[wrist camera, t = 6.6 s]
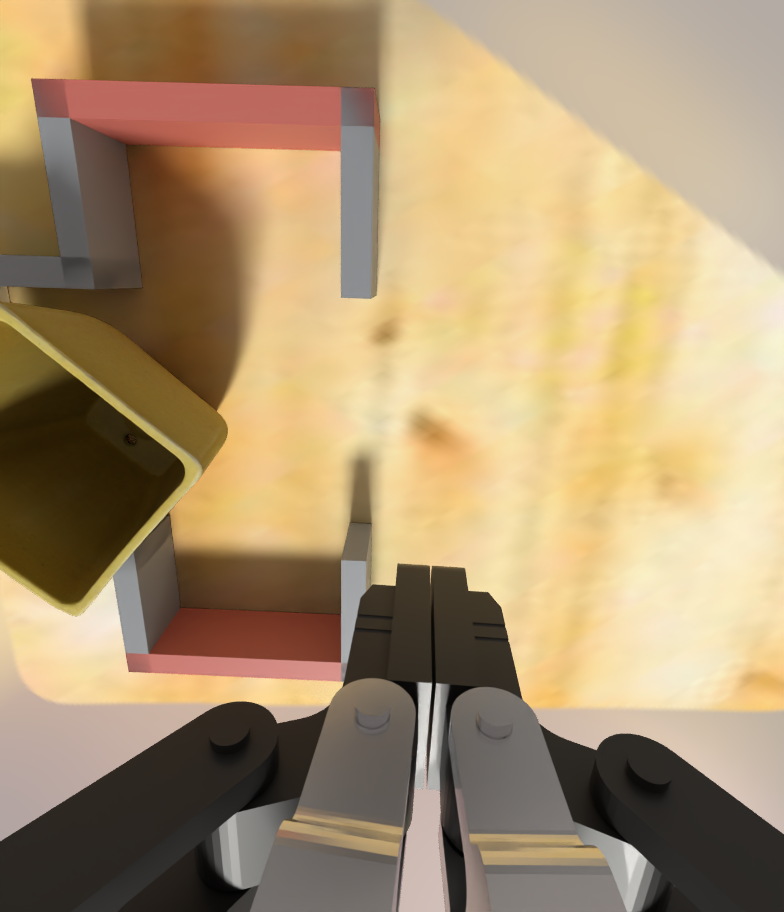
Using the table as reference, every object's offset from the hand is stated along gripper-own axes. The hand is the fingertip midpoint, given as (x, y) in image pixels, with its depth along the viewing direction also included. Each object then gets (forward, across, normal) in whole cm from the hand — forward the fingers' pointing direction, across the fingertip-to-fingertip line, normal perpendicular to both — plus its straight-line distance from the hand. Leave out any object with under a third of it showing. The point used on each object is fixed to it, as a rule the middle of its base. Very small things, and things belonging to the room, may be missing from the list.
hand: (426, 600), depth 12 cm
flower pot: (+16, +14, 0) cm, 21 cm away
